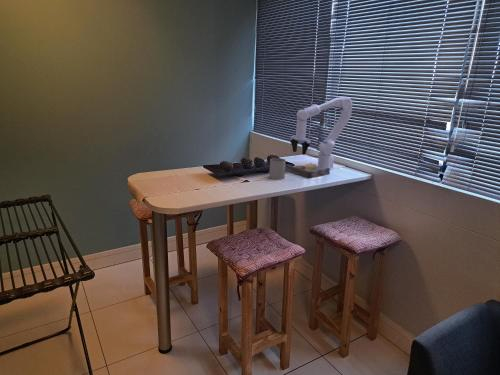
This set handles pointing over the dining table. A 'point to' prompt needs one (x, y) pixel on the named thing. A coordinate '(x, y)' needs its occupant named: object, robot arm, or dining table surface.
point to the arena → (307, 173)
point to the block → (308, 167)
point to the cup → (277, 168)
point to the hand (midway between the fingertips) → (299, 153)
